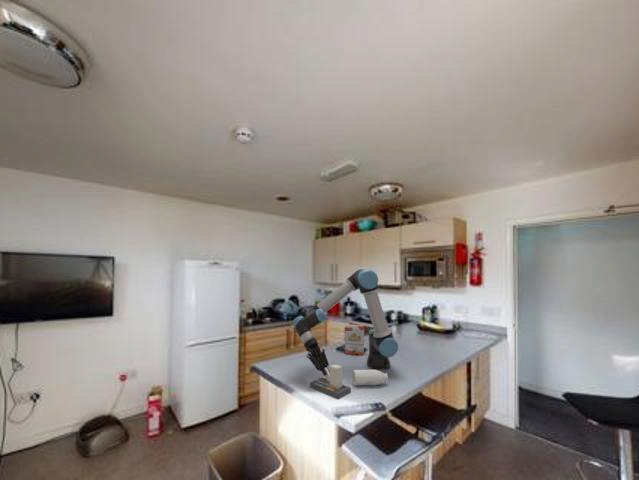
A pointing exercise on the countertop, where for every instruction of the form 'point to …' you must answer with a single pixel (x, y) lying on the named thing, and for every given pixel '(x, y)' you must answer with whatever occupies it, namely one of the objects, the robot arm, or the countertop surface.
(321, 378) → the switch plate
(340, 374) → the switch tab
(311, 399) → the countertop surface
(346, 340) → the cracker box
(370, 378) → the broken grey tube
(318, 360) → the robot arm
